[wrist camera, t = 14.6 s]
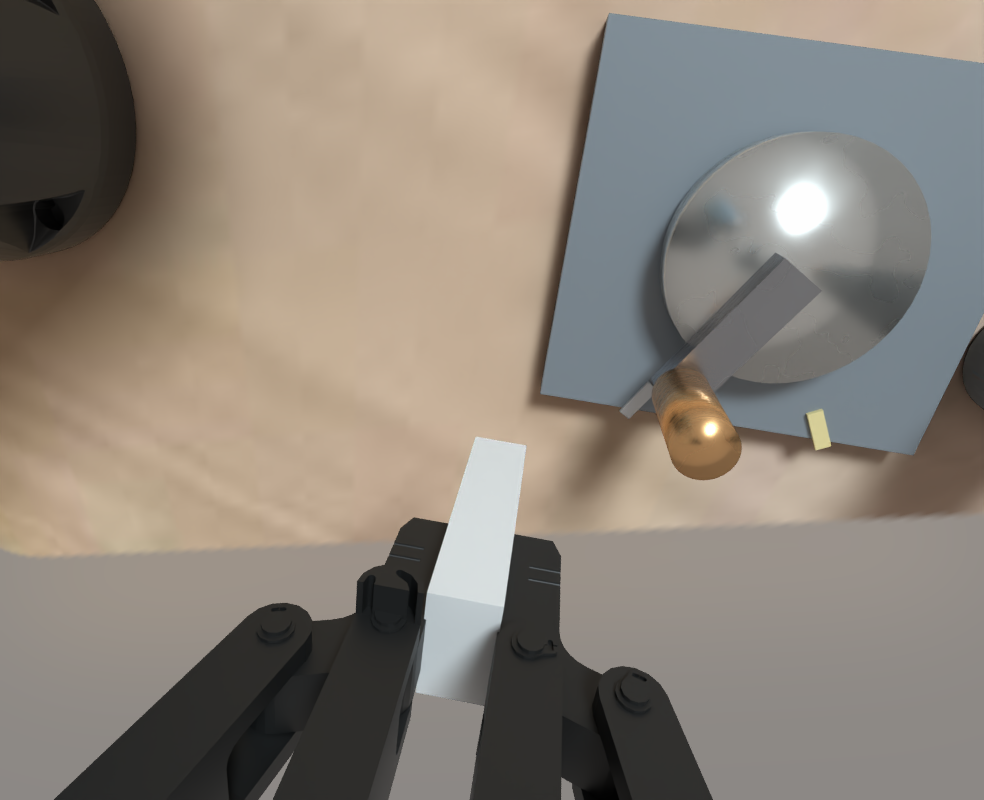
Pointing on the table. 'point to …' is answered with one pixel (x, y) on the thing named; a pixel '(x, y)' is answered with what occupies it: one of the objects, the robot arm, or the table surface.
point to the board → (713, 136)
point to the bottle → (975, 370)
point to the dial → (782, 277)
